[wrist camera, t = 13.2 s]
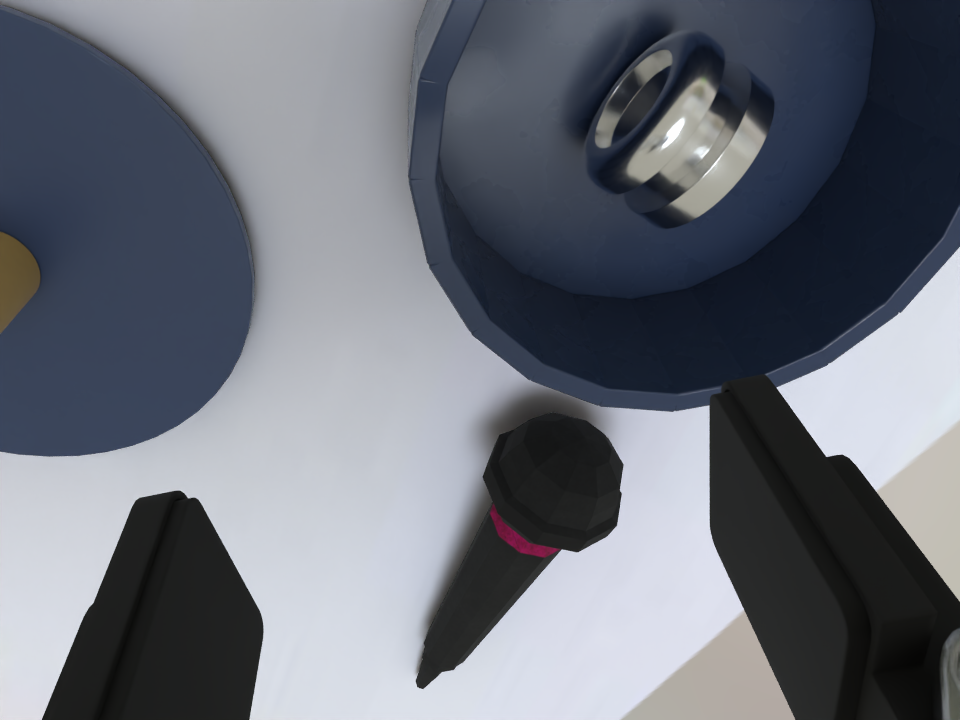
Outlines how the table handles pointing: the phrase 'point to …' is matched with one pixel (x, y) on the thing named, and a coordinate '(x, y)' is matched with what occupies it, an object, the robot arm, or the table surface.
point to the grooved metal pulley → (678, 129)
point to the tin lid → (107, 253)
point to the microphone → (525, 527)
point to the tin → (712, 236)
